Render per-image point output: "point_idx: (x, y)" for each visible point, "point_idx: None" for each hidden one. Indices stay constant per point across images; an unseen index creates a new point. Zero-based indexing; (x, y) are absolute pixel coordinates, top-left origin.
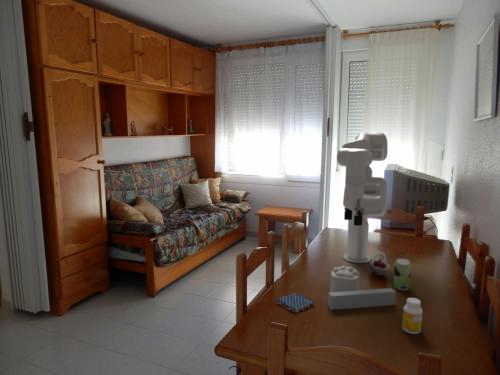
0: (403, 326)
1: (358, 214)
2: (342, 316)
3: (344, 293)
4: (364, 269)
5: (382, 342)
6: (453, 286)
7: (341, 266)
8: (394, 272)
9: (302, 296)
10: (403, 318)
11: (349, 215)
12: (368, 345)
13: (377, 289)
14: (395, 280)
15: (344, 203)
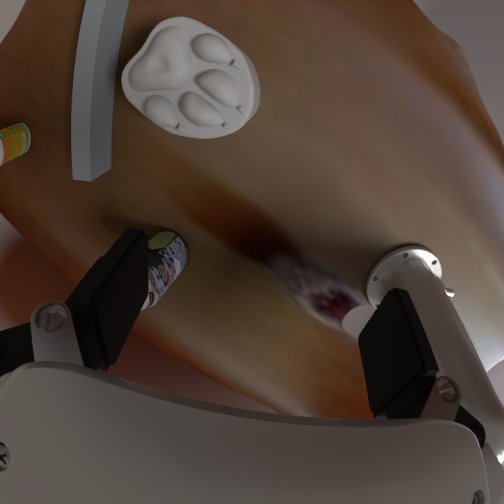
0: (16, 124)
1: (27, 324)
2: (79, 17)
3: (89, 29)
4: (329, 247)
5: (7, 68)
6: (165, 339)
7: (219, 79)
8: (155, 253)
9: None
10: (7, 128)
11: (378, 355)
12: (7, 43)
13: (87, 137)
14: (158, 240)
15: (435, 474)
